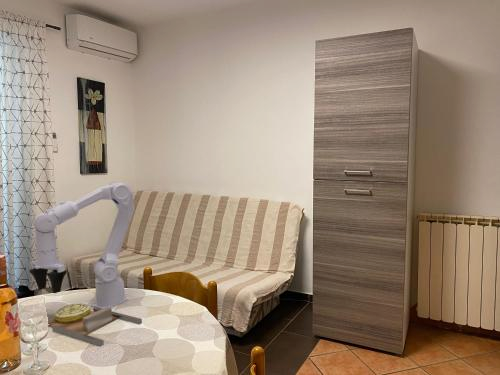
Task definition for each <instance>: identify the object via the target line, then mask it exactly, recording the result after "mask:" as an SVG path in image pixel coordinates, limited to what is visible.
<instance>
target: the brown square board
mask: <svg viewBox="0 0 500 375" xmlns="http://www.w3.org/2000/svg"><path fill="white" fill-rule="evenodd" d="M116 320H118V319H117V317H114V316H112V308H110V307H105V308H103V309H101V310H99V311H97V312H95V311H93V310H92V309H90V313H89V315H88V316H86V317H84V318H83V319H82V320H80V321H77V322H72V323H59V322H57V321H56V319H55V318H53V319H51V320H48V321H47V322H48V324H49V326H48V327H49V328H52V327H53V326H60V327H63V328H66V329H69V330H73V331H76V332H79V333H82V334H85V335H89V334H91V333H93V332H95V331H97V330H99V329H101V328H102V327H104V326H106V325H107V326H108V325H109V324H110V323H113V322H114V321H116Z"/></svg>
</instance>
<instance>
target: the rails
mask: <svg viewBox="0 0 500 375" xmlns="http://www.w3.org/2000/svg"><path fill="white" fill-rule="evenodd" d="M99 310H101V308H97V307H93V309H92V311H95V312H97V311H99ZM112 316H114V317H117V319H116V320H121V321H124V322H127V323H132V324H134V325H135V324H136V325H142V323H143V319H142V318H140V317H136V316H133V315H129V314H128V315H127V314H125V313H121V312H120V313H119V312H116V311H112ZM51 328H52V332H54V333H57V334H60V335H63V336H66V337H69V338H73V339H75V340H79V341H81V342H85V343H87V344H90V345H95V346H97V347H102V346H104V345H105V343H104V342H105V341H104V339H102V338H98V337H96V336H95V337H94V336H91V335H89V334H87V335H85V334H82V333H79V332H76V331H73V330H69V329H66V328H63V327H60V326H53V327H51Z"/></svg>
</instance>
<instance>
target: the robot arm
mask: <svg viewBox="0 0 500 375" xmlns="http://www.w3.org/2000/svg"><path fill="white" fill-rule="evenodd" d="M133 193H134V192H133V191H132V189H131V188H130V186H129V185H128V184H126V183H124V182H117V181H111V182H110V183H108V184H105V185H102V186H101V187H98V188H97V189H95V190H93V191H91V192H89V193H88V194H85V195H83V196H81V197H80V198H78V199H76V200H75V201H70V200H66V201H64V200H62V201H60V203H59V205H56V206H54V207H53V208H50V209H49V208H47V209H45V212H41V213H38V214H37V215H36V216H35V217H34V219H33V222H32V224H33V226H34V228H35V233H34V234H35V249H36V259H35V260H31V263H30V265H31V267H32V268H31V269H30V270H29V273H30V274H31V275H32V277H33V278H34V280H35V283H36V286H37V289H38V290H41V291H42V290H43V289H46V288H47V277H48V279H49V281H50V284H51V290H52V294H58V293H60V292H61V290H62V285H63V281H64V278H65V276H66V274H67V272H68V270H67V269H66V266H65V264H63V263H61V262H59V261H58V251H57V237H56V232H55V229H56V226H59V225H61V224H63V223H65V222H67V221H69V220H71V219H73V218H75V217H76V216H77V215H78V213H79V212H80V210H82V209H85V208H86V207H88V206H90V205H91V206H92V204H95V203H97V202H99V201H102V200H112V202H113V203H114V204H115V206H116V208H117V209H118V212H117V214H116V217H115V219H114V222H113V225H112V229H111V232H110V234H109V236H108V240H107V242H106V245H105V247H104V251H103V252H102V253H101V254H100V256H99V257H98V260H96V261H95V263H94V264H93V266H92V267H93V269H92V271H93V272H94V274H95V275H96V277H95V280H94V284H95V286H94V287H95V298H96V302H94V303H91V305H90V307H92V308H96V307H97V308H101V309H103V308H105V307H110V308H111V309H112V308H113V307H116V306H119V305H120V304H122V303H124V302H127V298H126V294H125V293H126V292H125V281H124V279H123V278H122V277H121V276H119V275H118V274H119V269H118V267H119V263H120V262H119V260H120V259H119V255H120V252H121V249H122V246H123V244H124V241H125V238H126V235H127V233H128V229H129V227H130V224H131V221H132V218H133V215H134V213H135V202H134V197H133V195H134V194H133ZM49 270H51V271H50V272H48V271H49Z"/></svg>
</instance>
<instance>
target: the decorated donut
mask: <svg viewBox="0 0 500 375" xmlns="http://www.w3.org/2000/svg"><path fill="white" fill-rule="evenodd" d="M90 310H91V306H90V305H88V304H86V303H70V304H67V305H65V306H62V307H61V308H59V309H57V311H55V313H54V319H56V321H57V322H59V323H72V322H77V321H80V320H82V319H83V318H84V317H86V316H88V315H89V313H90Z"/></svg>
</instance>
